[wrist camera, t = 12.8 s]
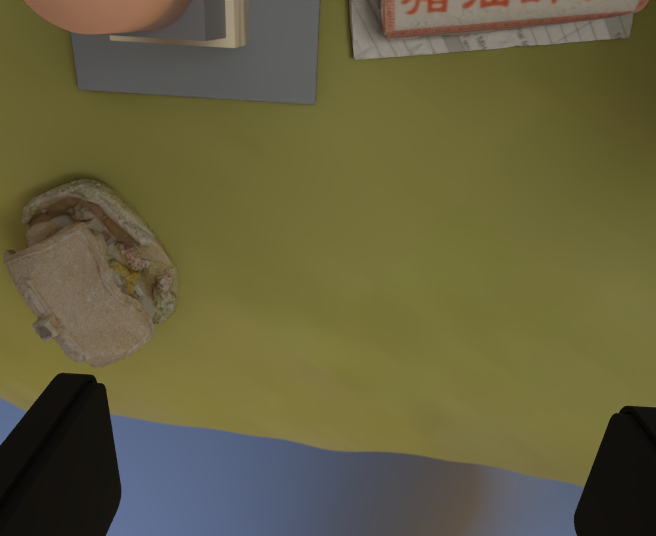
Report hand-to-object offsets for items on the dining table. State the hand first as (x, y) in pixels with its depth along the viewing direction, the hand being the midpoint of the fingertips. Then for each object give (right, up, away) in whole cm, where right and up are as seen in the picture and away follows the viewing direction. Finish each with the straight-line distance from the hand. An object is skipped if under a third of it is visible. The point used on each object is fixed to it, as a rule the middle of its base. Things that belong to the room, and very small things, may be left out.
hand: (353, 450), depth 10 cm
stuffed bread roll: (-19, +4, +33) cm, 38 cm away
